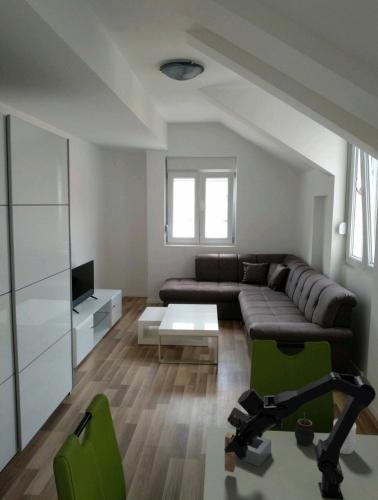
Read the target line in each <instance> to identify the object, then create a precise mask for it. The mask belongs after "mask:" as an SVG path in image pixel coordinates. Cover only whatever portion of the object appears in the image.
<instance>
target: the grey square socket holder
mask: <svg viewBox="0 0 378 500" xmlns="http://www.w3.org/2000/svg"><path fill="white" fill-rule="evenodd" d="M247 444H248V453H247V456H246V458H244V459H243V460H242V461H244V462H246V463H249V464H252V465H253V466H256V467H258V468H260V467H261V465H262V464H263V463H264V461H266V459H267V458H268V457H269V456H270V454H271V453H272V440H271V439H269V438H266V437H263V436H262V437H261V438H259V437H257V438H256V439H254V441H253V443H252V444H250V443H249V442H247ZM236 459H239V458H238V457H237V455H236Z"/></svg>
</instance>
